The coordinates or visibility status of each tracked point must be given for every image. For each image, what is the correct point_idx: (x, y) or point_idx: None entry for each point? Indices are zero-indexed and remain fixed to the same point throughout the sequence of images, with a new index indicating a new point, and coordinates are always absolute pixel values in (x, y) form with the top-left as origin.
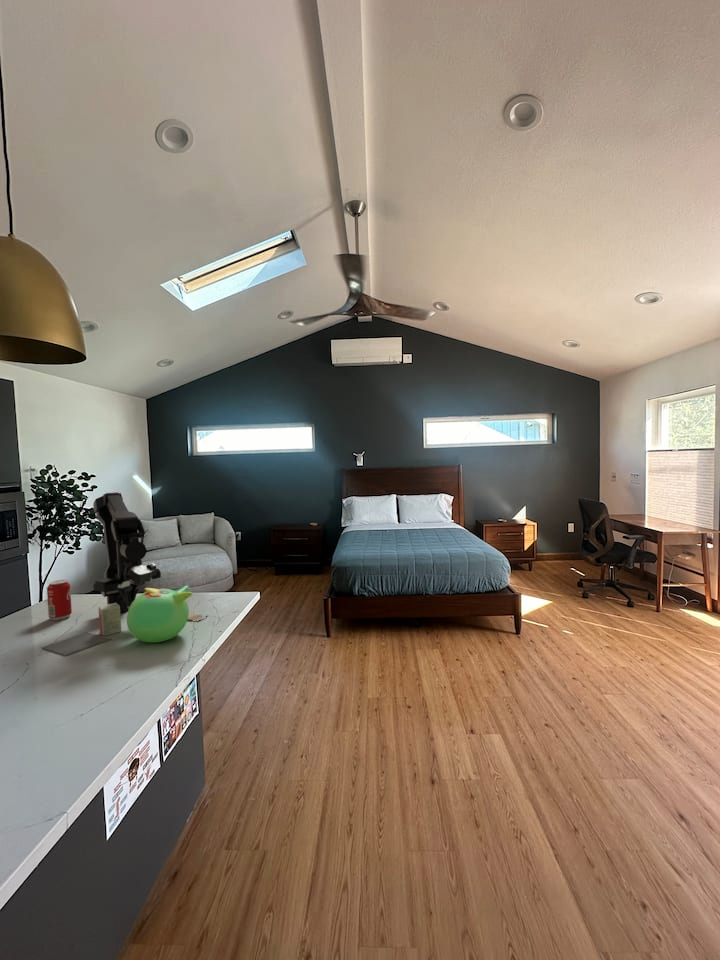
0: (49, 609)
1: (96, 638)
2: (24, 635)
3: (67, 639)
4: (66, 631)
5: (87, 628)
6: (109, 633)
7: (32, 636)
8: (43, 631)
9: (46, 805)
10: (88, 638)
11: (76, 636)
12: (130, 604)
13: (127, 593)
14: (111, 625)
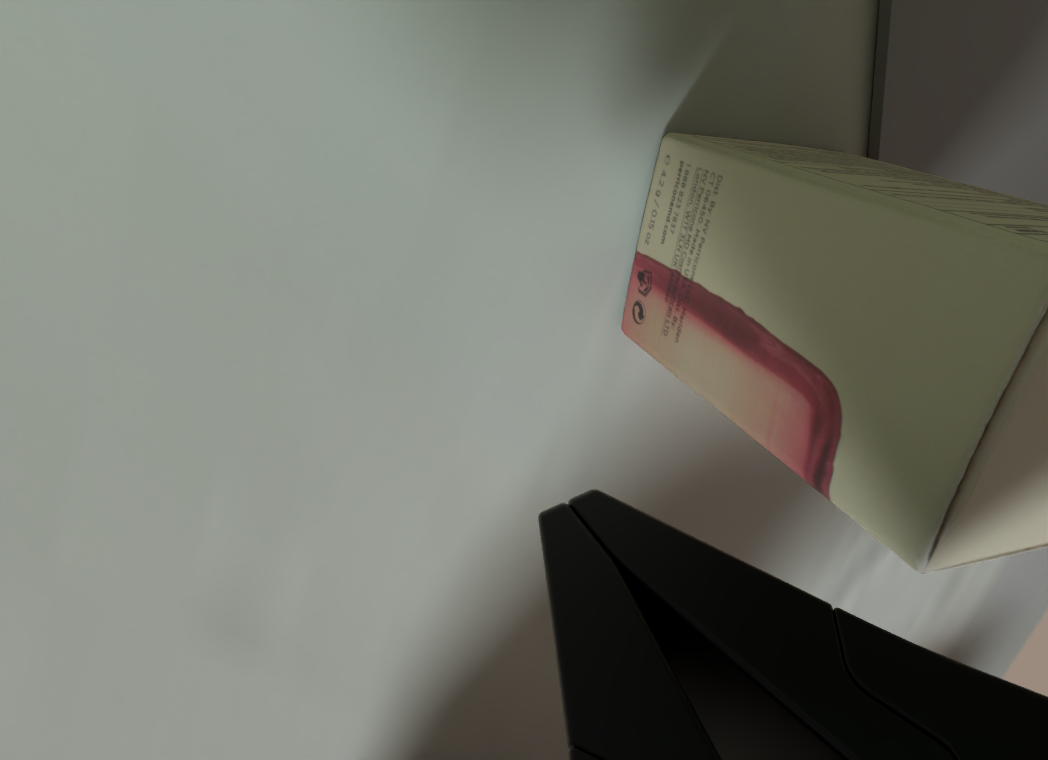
0: None
1: (951, 79)
2: (995, 621)
3: None
4: (876, 556)
5: (773, 535)
6: (796, 147)
7: (997, 577)
8: (922, 639)
9: None
10: (971, 166)
11: None
12: (627, 517)
13: (1028, 717)
14: (856, 167)
